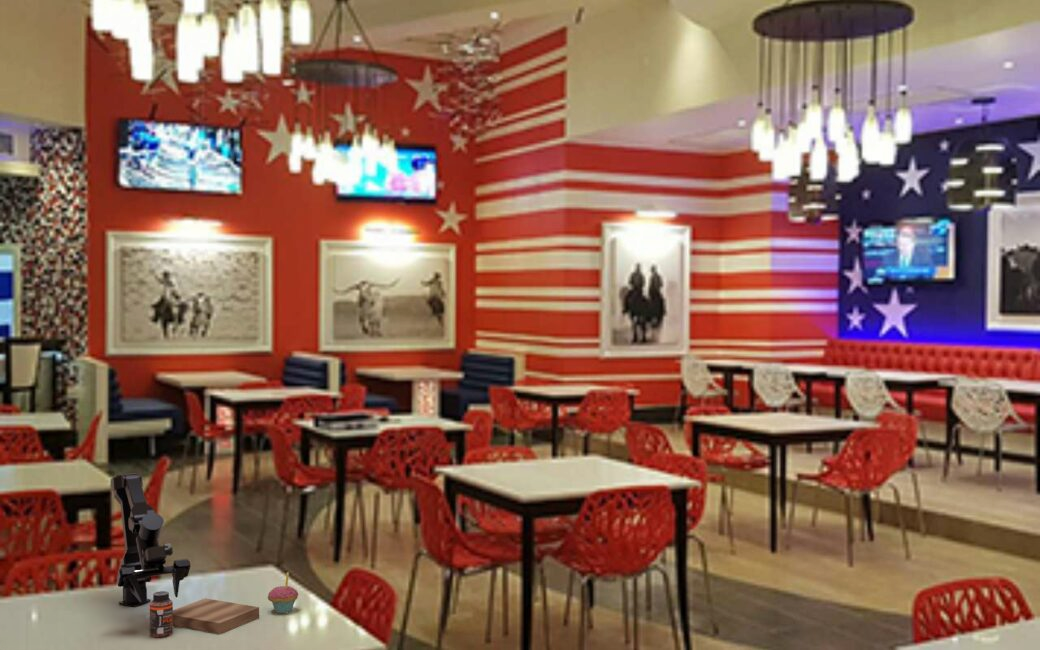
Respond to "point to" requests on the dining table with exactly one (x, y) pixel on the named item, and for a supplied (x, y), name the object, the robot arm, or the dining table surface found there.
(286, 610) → the cupcake
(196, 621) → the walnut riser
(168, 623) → the supplement bottle
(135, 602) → the robot arm
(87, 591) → the dining table surface
